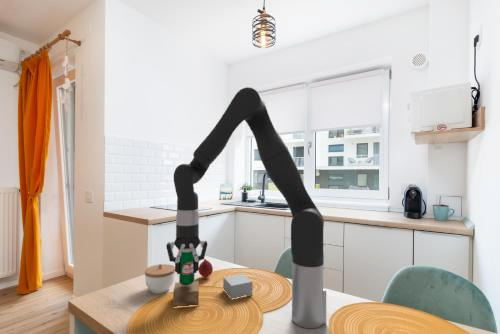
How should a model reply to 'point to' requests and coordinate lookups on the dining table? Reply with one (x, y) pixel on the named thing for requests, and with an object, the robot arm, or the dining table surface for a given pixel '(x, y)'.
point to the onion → (205, 269)
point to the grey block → (237, 285)
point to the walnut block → (186, 294)
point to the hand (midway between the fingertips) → (187, 272)
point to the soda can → (186, 267)
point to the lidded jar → (159, 277)
